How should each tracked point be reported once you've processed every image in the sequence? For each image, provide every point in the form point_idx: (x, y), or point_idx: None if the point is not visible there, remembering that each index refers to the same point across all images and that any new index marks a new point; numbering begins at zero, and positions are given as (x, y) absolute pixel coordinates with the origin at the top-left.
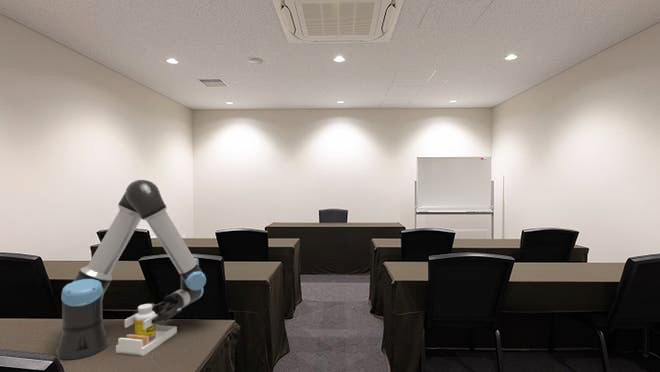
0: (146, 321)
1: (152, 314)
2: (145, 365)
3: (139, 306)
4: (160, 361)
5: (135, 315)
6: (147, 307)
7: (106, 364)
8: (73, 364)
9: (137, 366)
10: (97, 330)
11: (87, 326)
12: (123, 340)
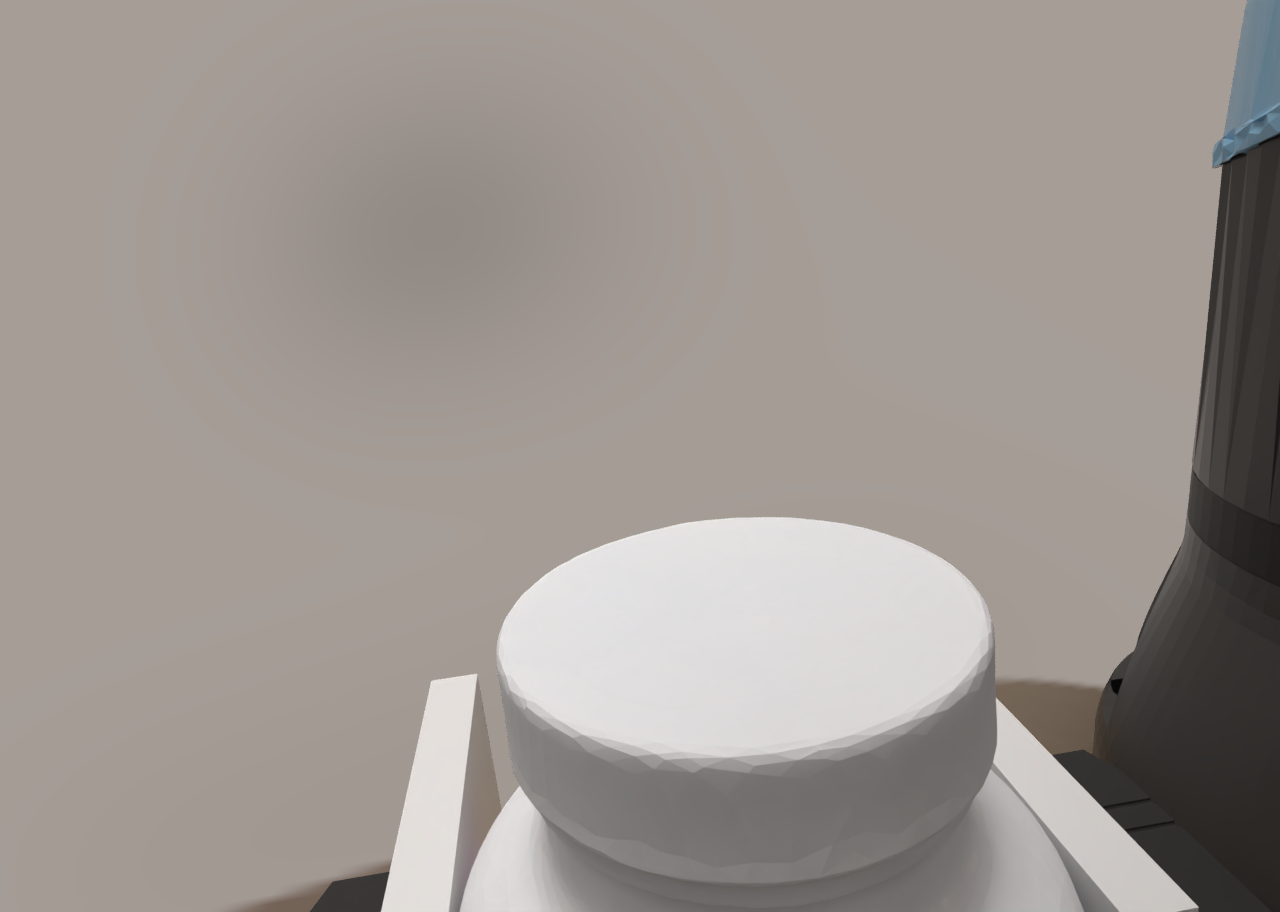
0: (428, 721)
1: (471, 895)
2: (302, 904)
3: (864, 542)
4: None
5: (1002, 779)
6: (544, 583)
7: None
8: (1008, 693)
9: (384, 864)
10: (1242, 641)
11: (1192, 485)
12: None
